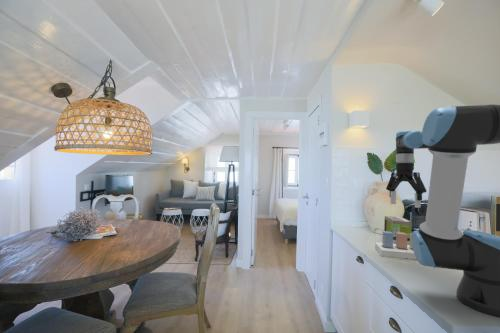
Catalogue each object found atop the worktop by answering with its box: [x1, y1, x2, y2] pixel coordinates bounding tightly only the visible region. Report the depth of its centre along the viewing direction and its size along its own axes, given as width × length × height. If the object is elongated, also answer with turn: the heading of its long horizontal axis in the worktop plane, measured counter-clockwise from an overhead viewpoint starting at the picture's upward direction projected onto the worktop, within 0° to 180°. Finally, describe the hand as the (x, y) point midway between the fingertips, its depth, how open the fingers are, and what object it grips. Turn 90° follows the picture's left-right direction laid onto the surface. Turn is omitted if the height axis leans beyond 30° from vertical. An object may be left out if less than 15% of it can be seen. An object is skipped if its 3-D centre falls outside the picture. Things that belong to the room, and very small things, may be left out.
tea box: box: [383, 215, 412, 245], centre depth 147 cm, size 15×10×15 cm, turn 168°
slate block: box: [381, 230, 393, 247], centre depth 129 cm, size 4×4×7 cm
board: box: [374, 241, 416, 260], centre depth 128 cm, size 14×22×3 cm, turn 75°
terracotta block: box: [396, 232, 407, 248], centre depth 128 cm, size 4×4×7 cm
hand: (404, 205), depth 120 cm, fingers open, 13 cm apart
